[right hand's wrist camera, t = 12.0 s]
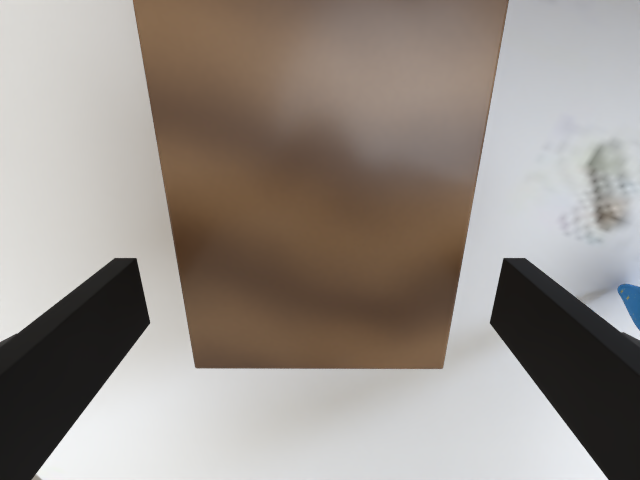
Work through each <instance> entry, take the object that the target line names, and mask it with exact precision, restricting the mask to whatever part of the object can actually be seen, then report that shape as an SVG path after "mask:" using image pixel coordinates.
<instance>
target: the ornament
mask: <svg viewBox="0 0 640 480" xmlns="http://www.w3.org/2000/svg"><path fill="white" fill-rule="evenodd" d="M618 293H619V295H620V296H621V298H622V300H623V302H624V304H625V306H626V308H627V310H628V312H629V314H630V316H631V318H632V320H633V322H634V323H635V325H636V326H637V328H638V329H639V330H640V287H638V286H634V285H630V284H623V285H620V286H619V287H618Z"/></svg>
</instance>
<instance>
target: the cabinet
mask: <svg viewBox="0 0 640 480" xmlns="http://www.w3.org/2000/svg"><path fill="white" fill-rule="evenodd" d="M508 2H509V0H133V4H134V10H135V16H136V22H137V28H138V34H139V39H140V45H141V51H142V57H143V63H144V69H145V75H146V81H147V87H148V92H149V98H150V104H151V110H152V116H153V122H154V128H155V134H156V140H157V145H158V151H159V157H160V163H161V169H162V175H163V181H164V187H165V193H166V198H167V204H168V210H169V216H170V222H171V228H172V234H173V240H174V246H175V251H176V257H177V263H178V269H179V275H180V281H181V287H182V293H183V299H184V304H185V310H186V316H187V322H188V328H189V334H190V340H191V346H192V352H193V357H194V363H195V368H280V369H442V368H443V365H444V360H445V354H446V349H447V343H448V337H449V332H450V326H451V321H452V315H453V309H454V304H455V298H456V293H457V287H458V281H459V276H460V270H461V265H462V259H463V254H464V248H465V242H466V237H467V231H468V226H469V220H470V214H471V209H472V203H473V198H474V192H475V187H476V181H477V175H478V170H479V164H480V159H481V153H482V147H483V142H484V136H485V131H486V125H487V119H488V114H489V108H490V103H491V97H492V92H493V86H494V80H495V75H496V69H497V64H498V58H499V52H500V47H501V41H502V36H503V30H504V24H505V19H506V13H507V8H508Z"/></svg>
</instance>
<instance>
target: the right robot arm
mask: <svg viewBox="0 0 640 480" xmlns="http://www.w3.org/2000/svg"><path fill="white" fill-rule="evenodd" d="M149 324H150V320H149V315H148V310H147V306H146V301H145V296H144V292H143V287H142V282H141V278H140V273H139V268H138V263H137V259H136V258H115V259H113V260H112V261H111V262H109V263H108V264H107V265H105V266H104V267H103V268H102V269H100V270H99V271H98V272H96V273H95V274H94V275H93V276H91V277H90V278H89V279H87V280H86V281H85V282H84V283H82V284H81V285H80V286H78V287H77V288H76V289H75V290H73V291H72V292H71V293H69V294H68V295H67V296H66V297H64V298H63V299H62V300H60V301H59V302H58V303H57V304H55V305H54V306H53V307H51V308H50V309H49V310H47V311H46V312H45V313H44V314H42V315H41V316H40V317H38V318H37V319H36V320H35V321H33V322H32V323H31V324H29V325H28V326H27V327H26V328H24V329H23V330H22V331H20V332H19V333H18V334H15V335H13V336H11V337H9V338H7V339H5V340H3V341H1V342H0V480H31V479H32V478H33V477H34V476H35V474H36V473H37V472H38V470H39V469H40V468H41V466H42V465H43V464H44V462H45V461H46V460H47V458H48V457H49V456H50V455H51V453H52V452H53V451H54V449H55V448H56V447H57V445H58V444H59V443H60V441H61V440H62V439H63V437H64V436H65V435H66V433H67V432H68V431H69V429H70V428H71V427H72V426H73V424H74V423H75V422H76V420H77V419H78V418H79V416H80V415H81V414H82V412H83V411H84V410H85V408H86V407H87V406H88V404H89V403H90V402H91V400H92V399H93V398H94V396H95V395H96V394H97V393H98V391H99V390H100V389H101V387H102V386H103V385H104V383H105V382H106V381H107V379H108V378H109V377H110V375H111V374H112V373H113V371H114V370H115V369H116V367H117V366H118V365H119V364H120V362H121V361H122V360H123V358H124V357H125V356H126V354H127V353H128V352H129V350H130V349H131V348H132V346H133V345H134V344H135V342H136V341H137V340H138V338H139V337H140V336H141V335H142V333H143V332H144V331H145V329H146V328H147V327H148V325H149ZM490 324H491V325H492V327H493V328H494V329H495V331H496V332H497V333H498V335H499V336H500V337H501V338H502V340H503V341H504V342H505V344H506V345H507V346H508V348H509V349H510V350H511V352H512V353H513V354H514V356H515V357H516V358H517V360H518V361H519V362H520V364H521V365H522V366H523V367H524V369H525V370H526V371H527V373H528V374H529V375H530V377H531V378H532V379H533V381H534V382H535V383H536V385H537V386H538V387H539V389H540V390H541V391H542V393H543V394H544V395H545V396H546V398H547V399H548V400H549V402H550V403H551V404H552V406H553V407H554V408H555V410H556V411H557V412H558V414H559V415H560V416H561V418H562V419H563V420H564V422H565V423H566V424H567V426H568V427H569V428H570V429H571V431H572V432H573V433H574V435H575V436H576V437H577V439H578V440H579V441H580V443H581V444H582V445H583V447H584V448H585V449H586V451H587V452H588V453H589V455H590V456H591V457H592V458H593V460H594V461H595V462H596V464H597V465H598V466H599V468H600V469H601V470H602V472H603V473H604V474H605V476H606V477H607V478H608V480H640V340H638V339H636V338H634V337H632V336H630V335H628V334H626V333H624V332H620V331H618V330H617V329H616V328H614V327H613V326H612V325H611V324H609V323H608V322H607V321H605V320H604V319H603V318H602V317H600V316H599V315H598V314H596V313H595V312H594V311H593V310H591V309H590V308H589V307H587V306H586V305H585V304H583V303H582V302H581V301H580V300H578V299H577V298H576V297H574V296H573V295H572V294H571V293H569V292H568V291H567V290H565V289H564V288H563V287H562V286H560V285H559V284H558V283H556V282H555V281H554V280H553V279H551V278H550V277H549V276H547V275H546V274H545V273H544V272H542V271H541V270H540V269H538V268H537V267H536V266H535V265H533V264H532V263H531V262H529V261H528V260H527V259H525V258H504V259H503V263H502V268H501V273H500V278H499V282H498V287H497V292H496V296H495V301H494V306H493V310H492V315H491V320H490Z"/></svg>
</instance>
